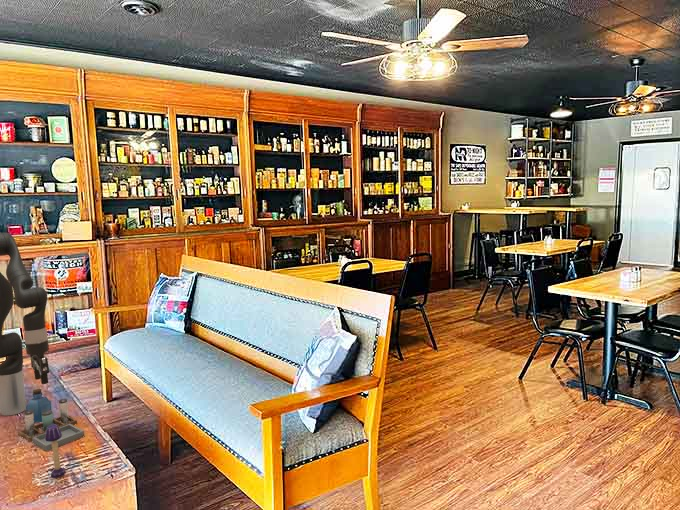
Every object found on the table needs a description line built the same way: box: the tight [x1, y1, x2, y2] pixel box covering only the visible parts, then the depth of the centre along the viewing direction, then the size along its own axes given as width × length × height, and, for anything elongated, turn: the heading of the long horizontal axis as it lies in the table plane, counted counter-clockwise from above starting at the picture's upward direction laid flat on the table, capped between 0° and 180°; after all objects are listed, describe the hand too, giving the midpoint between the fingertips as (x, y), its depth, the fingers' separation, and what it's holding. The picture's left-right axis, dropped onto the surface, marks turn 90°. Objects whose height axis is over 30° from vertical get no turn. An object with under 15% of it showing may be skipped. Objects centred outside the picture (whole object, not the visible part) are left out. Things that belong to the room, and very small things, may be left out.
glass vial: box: [23, 410, 36, 437], centre depth 192 cm, size 3×3×10 cm
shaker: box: [41, 410, 54, 432], centre depth 197 cm, size 4×4×7 cm
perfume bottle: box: [25, 388, 53, 423], centre depth 206 cm, size 6×6×12 cm
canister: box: [58, 398, 70, 424], centre depth 202 cm, size 3×3×10 cm
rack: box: [17, 416, 78, 443], centre depth 197 cm, size 9×18×2 cm, turn 144°
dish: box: [32, 424, 85, 452], centre depth 189 cm, size 11×14×2 cm
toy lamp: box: [45, 424, 67, 479], centre depth 164 cm, size 5×5×17 cm
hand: (41, 381), depth 196 cm, fingers open, 8 cm apart
